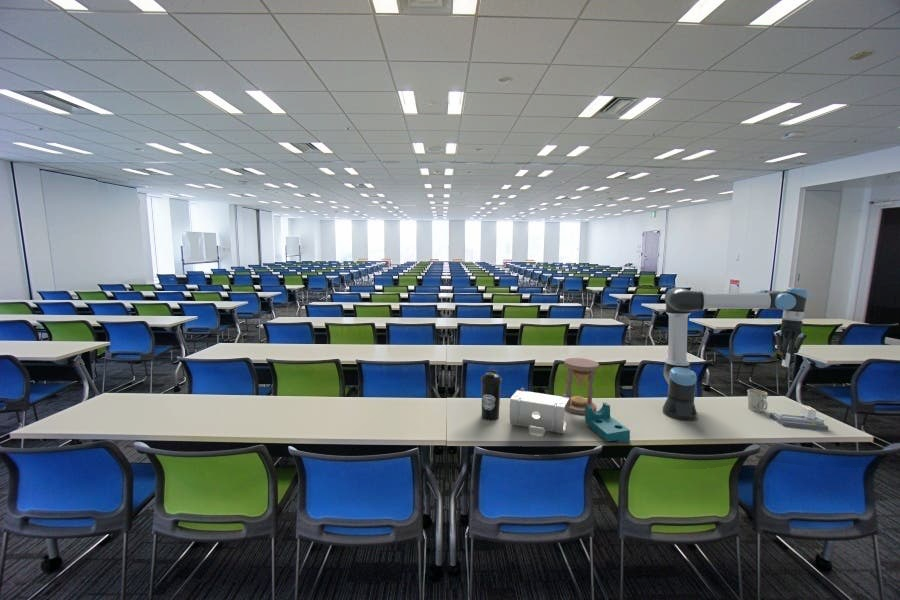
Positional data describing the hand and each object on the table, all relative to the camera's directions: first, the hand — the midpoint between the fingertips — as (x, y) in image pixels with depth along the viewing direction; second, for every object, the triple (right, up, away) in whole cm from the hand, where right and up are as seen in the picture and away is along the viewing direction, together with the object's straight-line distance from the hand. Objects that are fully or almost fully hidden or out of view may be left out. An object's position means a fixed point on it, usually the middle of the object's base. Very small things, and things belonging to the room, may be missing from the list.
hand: (785, 366), depth 185 cm
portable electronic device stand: (-125, -27, -9) cm, 128 cm away
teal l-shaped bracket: (-95, -28, -14) cm, 100 cm away
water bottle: (-147, -26, +1) cm, 149 cm away
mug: (-2, -27, +14) cm, 30 cm away
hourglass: (-98, -25, +14) cm, 102 cm away
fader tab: (+9, -26, -2) cm, 28 cm away
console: (+6, -28, -1) cm, 29 cm away
